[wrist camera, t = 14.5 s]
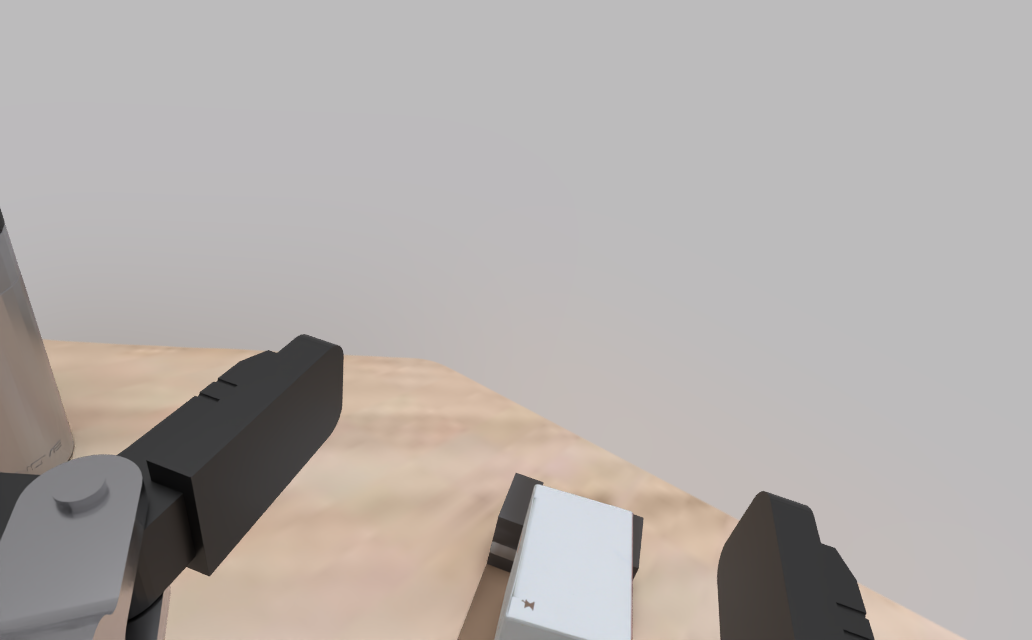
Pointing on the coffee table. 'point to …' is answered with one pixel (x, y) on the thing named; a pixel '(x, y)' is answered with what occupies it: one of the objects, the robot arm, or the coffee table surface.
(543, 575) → the small box
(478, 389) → the coffee table surface
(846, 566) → the robot arm
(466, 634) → the stand
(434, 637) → the coffee table surface
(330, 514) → the coffee table surface
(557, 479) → the coffee table surface
